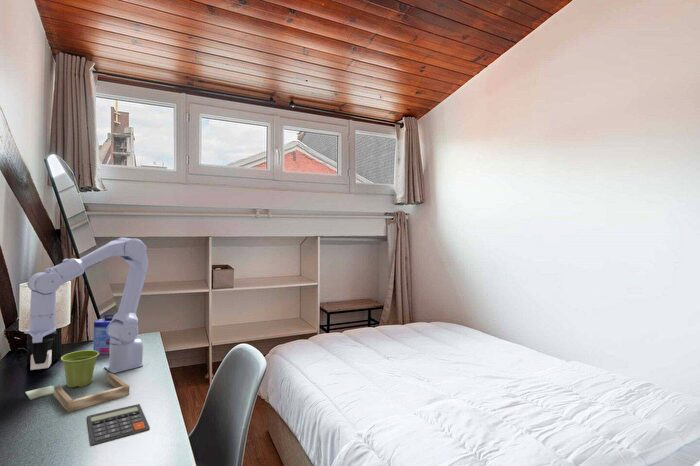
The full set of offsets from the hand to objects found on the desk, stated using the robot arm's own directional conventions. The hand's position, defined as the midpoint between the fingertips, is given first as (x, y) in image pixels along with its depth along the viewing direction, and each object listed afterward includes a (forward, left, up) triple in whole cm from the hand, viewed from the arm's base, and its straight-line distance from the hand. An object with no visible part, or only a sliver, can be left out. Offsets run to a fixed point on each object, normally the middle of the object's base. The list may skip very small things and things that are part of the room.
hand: (41, 360), depth 108 cm
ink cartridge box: (-25, -22, -9) cm, 34 cm away
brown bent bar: (-6, +11, -8) cm, 15 cm away
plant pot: (-9, +3, -9) cm, 13 cm away
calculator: (-8, +36, -9) cm, 38 cm away
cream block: (0, 0, -2) cm, 2 cm away
